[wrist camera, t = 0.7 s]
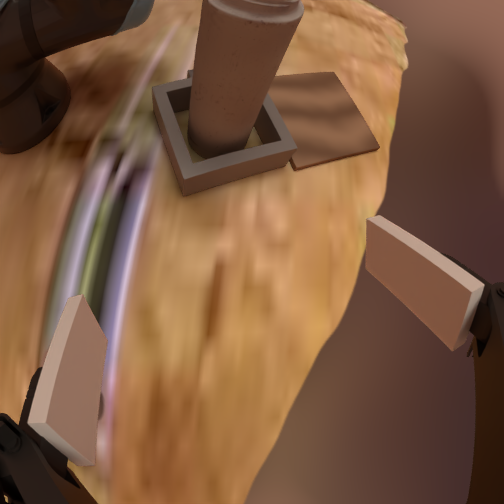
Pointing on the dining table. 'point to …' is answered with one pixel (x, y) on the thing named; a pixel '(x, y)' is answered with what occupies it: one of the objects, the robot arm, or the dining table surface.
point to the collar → (225, 166)
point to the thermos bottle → (236, 69)
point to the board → (320, 118)
